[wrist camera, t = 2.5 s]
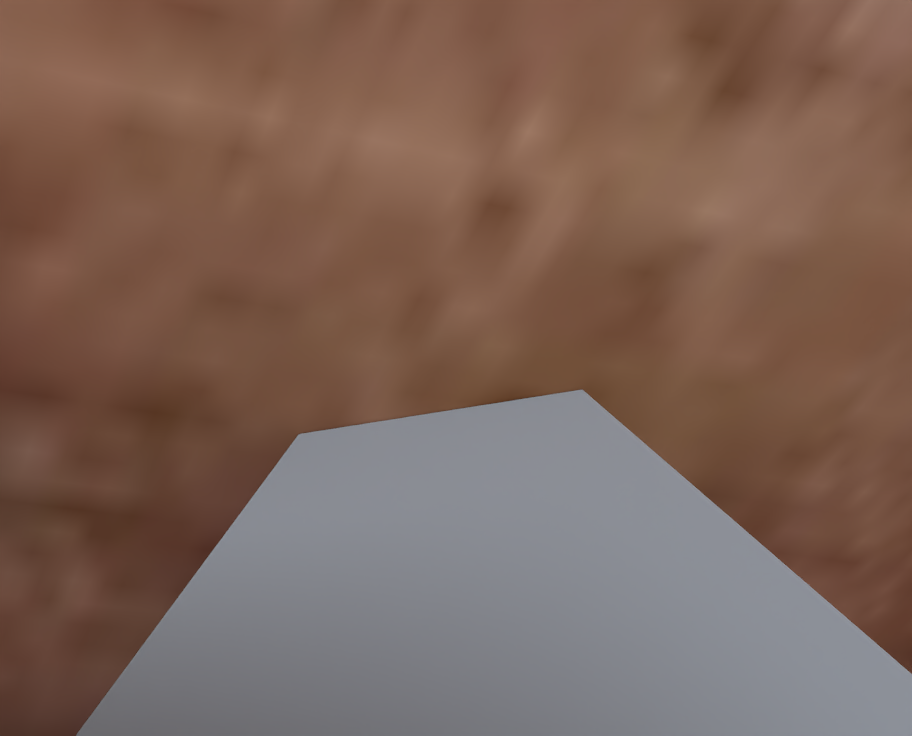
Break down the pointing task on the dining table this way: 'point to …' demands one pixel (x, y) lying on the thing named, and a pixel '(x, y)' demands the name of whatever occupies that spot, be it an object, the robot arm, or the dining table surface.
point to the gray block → (497, 599)
